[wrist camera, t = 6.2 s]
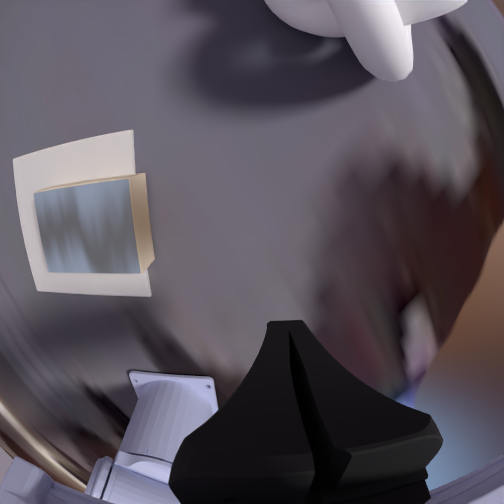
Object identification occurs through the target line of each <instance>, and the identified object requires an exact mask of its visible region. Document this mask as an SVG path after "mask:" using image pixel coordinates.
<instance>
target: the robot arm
mask: <svg viewBox="0 0 504 504" xmlns="http://www.w3.org/2000/svg"><path fill="white" fill-rule="evenodd" d="M129 377H130V379H131V382H132V385H133V387H134V390H135V392H136V395H137V397H138V401H137V404H136V407H135V409H134V412H133V414H132V417H131V419H130V422H129V425H128V427H127V430H126V432H125V435H124V438H123V440H122V443H121V446H120V448H119V451H118V453H117V455H116V457H115V459H114V461H113V462H112V460H113V459H112V458H110V457H108V456H105V457H104V458H100V459H98V460H97V462H96V464H95V467H94V469H93V472H92V474H91V477H90V479H89V482H88V485H87V488H86V490H85V493H82V492H79V491H76V490H74V489H71V488H69V487H67V486H64V485H62V484H60V483H57V482H55V481H53V480H52V478H51V477H50V476H49V475H48V474H47V473H46V472H44V471H43V470H42V469H40V468H38V467H37V466H35V465H33V464H31V463H29V462H27V461H25V460H23V459H22V458H20V457H18V456H15V458H14V460H13V462H12V463H11V465H10V468H9V469H8V471H7V473H6V475H5V477H4V479H3V481H2V483H1V485H0V504H504V454H503V455H501V456H500V457H498V458H496V459H495V460H493V461H491V462H489V463H487V464H486V465H484V466H482V467H480V468H478V469H477V470H475V471H473V472H471V473H469V474H467V475H465V476H463V477H461V478H459V479H457V480H455V481H452V482H450V483H448V484H445V485H443V486H441V487H438V488H436V489H433V490H431V491H429V490H428V487H427V485H426V482H425V479H427V478H428V473H427V471H426V468H425V467H426V466H427V465H428V464H429V463H430V461H431V460H432V459H433V458H434V457H435V455H436V454H437V453H438V451H439V450H440V448H441V446H442V443H443V438H442V436H441V434H440V432H439V430H438V428H437V426H436V424H435V422H434V421H433V419H432V417H431V416H430V415H429V414H426V413H423V412H421V411H418V410H415V409H413V408H410V407H407V406H405V405H403V404H400V403H398V402H396V401H394V400H392V399H390V398H388V397H386V396H384V395H382V394H381V393H379V392H377V391H376V390H374V389H372V388H371V387H369V386H368V385H366V384H365V383H363V382H362V381H360V380H359V379H358V378H356V377H355V376H354V375H353V374H351V373H350V372H349V371H348V370H346V369H345V368H344V367H343V366H342V365H341V364H340V363H339V362H338V361H337V360H336V359H335V358H334V357H333V356H332V355H331V354H330V353H329V352H328V351H327V350H326V349H325V348H324V347H323V345H322V344H321V343H320V342H319V341H318V340H317V338H316V337H315V336H314V335H313V333H312V332H311V331H310V329H309V328H308V327H307V325H306V324H305V323H304V322H303V321H302V320H289V321H270V322H268V323H267V331H266V335H265V338H264V341H263V344H262V346H261V349H260V351H259V353H258V356H257V358H256V359H255V361H254V363H253V365H252V367H251V369H250V370H249V372H248V374H247V375H246V377H245V378H244V380H243V381H242V383H241V384H240V385H239V387H238V388H237V389H236V391H235V392H234V393H233V394H232V396H231V397H230V398H229V399H228V400H227V401H226V403H225V404H224V405H223V406H222V407H221V408H220V409H219V410H218V405H217V399H216V393H215V386H214V380H213V379H212V378H211V377H206V376H186V375H172V374H160V373H149V372H140V371H131V372H130V374H129ZM207 385H210V386H207Z"/></svg>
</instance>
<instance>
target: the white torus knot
mask: <svg viewBox="0 0 504 504" xmlns="http://www.w3.org/2000/svg"><path fill="white" fill-rule="evenodd" d="M264 1H265V3H266V4H267V5H268V7H269V8H270V9H271V11H272V12H273V13H274V14H275V15H276V16H278V17H279V18H280V19H281V20H282V21H284V22H285V23H287V24H288V25H290V26H292V27H294V28H296V29H298V30H301V31H304V32H307V33H310V34H314V35H318V36H323V37H346V39H347V41H348V43H349V45H350V46H351V48H352V50H353V52H354V54H355V55H356V57H357V58H358V60H359V62H360V63H361V64H362V66H363V67H364V68H365V69H366V70H367V71H369V72H370V73H371V74H373V75H374V76H375V77H377V78H378V79H379V80H383V81H388V82H396V81H399V80H403V79H405V78H406V77H407V76H408V74H409V73H410V72H411V71H412V69H413V49H412V39H411V24H414V23H418V22H422V21H425V20H429V19H432V18H435V17H438V16H441V15H444V14H446V13H449V12H451V11H453V10H455V9H457V8H459V7H461V6H462V5H463V4H465V3H466V2H467V1H468V0H264Z"/></svg>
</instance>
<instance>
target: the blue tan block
mask: <svg viewBox="0 0 504 504" xmlns="http://www.w3.org/2000/svg"><path fill="white" fill-rule="evenodd" d="M33 194H34V202H35V209H36V215H37V221H38V226H39V232H40V237H41V242H42V246H43V251H44V255H45V259H46V264H47V267H48V271H49V272H50V273H109V274H143V273H144V271H145V270H146V269H147V268H148V267H149V265H150V264H151V263H152V262H153V261H154V259H155V258H154V251H153V243H152V235H151V227H150V219H149V209H148V199H147V188H146V175H145V173H139V174H130V175H121V176H113V177H106V178H99V179H92V180H85V181H79V182H73V183H67V184H61V185H55V186H51V187H48V188H45V189H41V190H38V191H35V192H34V193H33Z"/></svg>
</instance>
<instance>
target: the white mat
mask: <svg viewBox="0 0 504 504" xmlns="http://www.w3.org/2000/svg"><path fill="white" fill-rule="evenodd" d="M13 166H14V178H15V187H16V195H17V203H18V209H19V216H20V221H21V227H22V232H23V237H24V242H25V246H26V251H27V255H28V259H29V263H30V267H31V270H32V274H33V278H34V281H35V284H36V288H37V291H45V292H59V293H74V294H92V295H114V296H142V297H151V295H152V293H151V288H150V282H149V277H148V271H147V269H146V270H145V271H144V273H143V274H109V273H50V272H49V271H48V267H47V264H46V259H45V255H44V251H43V246H42V242H41V237H40V232H39V226H38V221H37V215H36V209H35V202H34V194H33V193H34V192H35V191H38V190H41V189H45V188H48V187H51V186H55V185H61V184H67V183H73V182H79V181H85V180H92V179H99V178H106V177H113V176H121V175H130V174H136V171H135V156H134V135H133V130H127V131H121V132H116V133H111V134H105V135H100V136H96V137H91V138H86V139H82V140H78V141H73V142H69V143H65V144H61V145H58V146H54V147H50V148H47V149H43V150H40V151H36V152H33V153H30V154H27V155H23V156H20V157H17V158H14V159H13Z"/></svg>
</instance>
